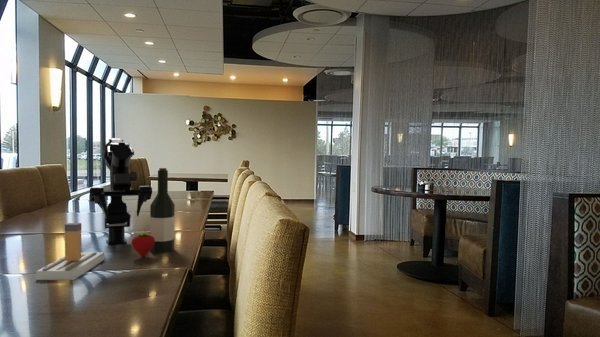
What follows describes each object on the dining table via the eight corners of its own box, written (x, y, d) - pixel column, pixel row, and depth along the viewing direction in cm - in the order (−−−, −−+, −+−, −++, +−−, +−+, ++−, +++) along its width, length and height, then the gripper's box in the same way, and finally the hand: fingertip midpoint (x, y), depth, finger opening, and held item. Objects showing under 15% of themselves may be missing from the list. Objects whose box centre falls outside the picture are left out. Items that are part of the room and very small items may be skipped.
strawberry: (129, 256, 134) (129, 227, 134) (151, 253, 139) (151, 225, 138) (134, 260, 129) (134, 230, 129) (157, 257, 134) (157, 228, 134)
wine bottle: (178, 248, 146) (179, 168, 145) (164, 254, 138) (165, 169, 137) (160, 246, 149) (160, 167, 147) (144, 251, 141) (145, 168, 140)
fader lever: (69, 258, 120) (69, 223, 120) (81, 258, 121) (81, 223, 120) (64, 260, 118) (64, 224, 117) (77, 260, 118) (77, 224, 118)
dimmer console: (72, 259, 129) (72, 250, 129) (104, 259, 130) (104, 250, 130) (36, 279, 109) (36, 268, 109) (74, 279, 110) (74, 268, 110)
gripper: (89, 162, 124) (90, 207, 117) (152, 162, 133) (156, 204, 126) (89, 179, 132) (89, 222, 125) (148, 179, 141) (151, 218, 134)
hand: (122, 216), depth 127 cm, fingers open, 9 cm apart
